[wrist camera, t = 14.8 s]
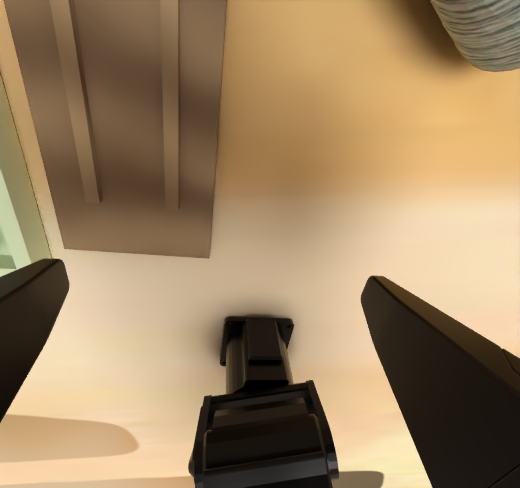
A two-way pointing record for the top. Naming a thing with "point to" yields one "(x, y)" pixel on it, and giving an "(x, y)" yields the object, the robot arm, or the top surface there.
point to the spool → (484, 31)
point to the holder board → (125, 117)
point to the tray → (17, 201)
